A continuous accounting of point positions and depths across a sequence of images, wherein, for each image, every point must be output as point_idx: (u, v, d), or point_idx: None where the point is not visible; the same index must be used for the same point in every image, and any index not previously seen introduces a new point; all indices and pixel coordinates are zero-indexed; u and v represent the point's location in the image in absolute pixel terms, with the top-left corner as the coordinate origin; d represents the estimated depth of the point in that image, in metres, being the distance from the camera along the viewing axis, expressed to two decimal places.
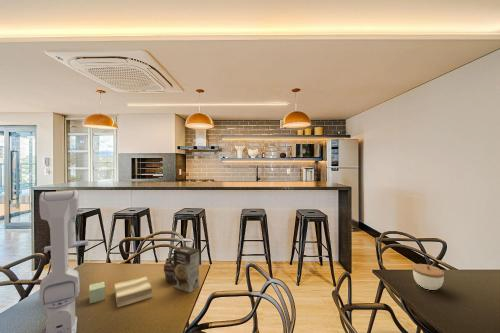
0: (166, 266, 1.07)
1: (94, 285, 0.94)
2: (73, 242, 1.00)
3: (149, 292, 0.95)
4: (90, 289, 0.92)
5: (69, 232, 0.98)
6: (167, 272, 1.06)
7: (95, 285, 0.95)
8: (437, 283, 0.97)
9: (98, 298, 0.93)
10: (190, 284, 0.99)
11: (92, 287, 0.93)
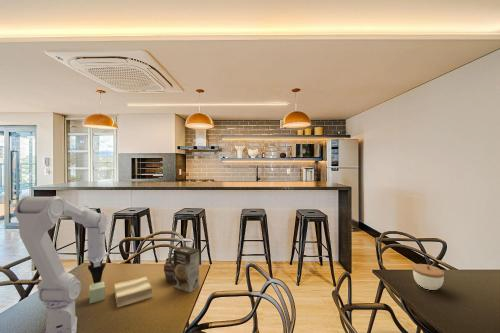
0: (166, 266, 1.07)
1: (94, 285, 0.94)
2: (91, 256, 0.91)
3: (149, 292, 0.95)
4: (90, 289, 0.92)
5: (94, 244, 0.91)
6: (167, 272, 1.06)
7: (95, 285, 0.95)
8: (437, 283, 0.97)
9: (98, 298, 0.93)
10: (190, 284, 0.99)
11: (92, 287, 0.93)
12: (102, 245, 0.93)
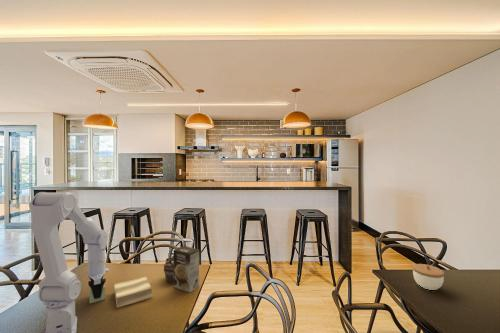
0: (166, 266, 1.07)
1: None
2: (91, 273, 0.91)
3: (149, 292, 0.95)
4: (90, 289, 0.92)
5: (94, 260, 0.91)
6: (167, 272, 1.06)
7: None
8: (437, 283, 0.97)
9: (98, 298, 0.93)
10: (190, 284, 0.99)
11: None
12: (102, 261, 0.94)
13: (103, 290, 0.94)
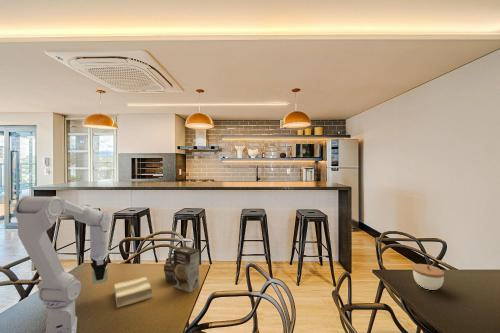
0: (166, 266, 1.07)
1: None
2: (94, 254, 0.91)
3: (149, 292, 0.95)
4: (92, 270, 0.92)
5: (96, 242, 0.91)
6: (167, 272, 1.06)
7: None
8: (437, 283, 0.97)
9: (101, 280, 0.93)
10: (190, 284, 0.99)
11: None
12: (105, 243, 0.94)
13: (105, 272, 0.94)
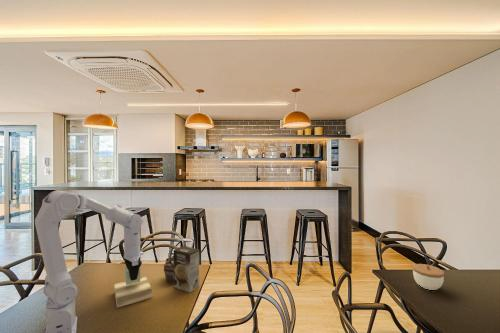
0: (166, 266, 1.07)
1: None
2: (128, 255, 0.94)
3: (149, 292, 0.95)
4: (126, 271, 0.94)
5: (127, 243, 0.94)
6: (167, 272, 1.06)
7: None
8: (437, 283, 0.97)
9: (134, 280, 0.95)
10: (190, 284, 0.99)
11: None
12: (138, 244, 0.96)
13: (138, 272, 0.96)
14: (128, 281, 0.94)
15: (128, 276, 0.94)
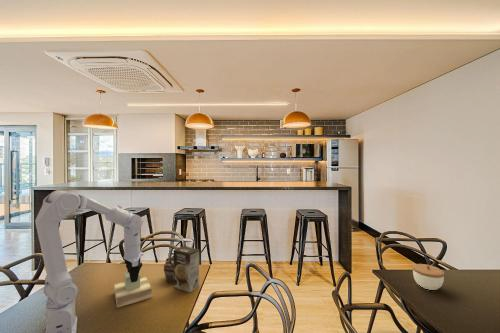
0: (166, 266, 1.07)
1: None
2: (128, 256, 0.94)
3: (149, 292, 0.95)
4: (126, 277, 0.94)
5: (127, 244, 0.94)
6: (167, 272, 1.06)
7: None
8: (437, 283, 0.97)
9: (134, 285, 0.95)
10: (190, 284, 0.99)
11: (128, 275, 0.96)
12: (138, 245, 0.96)
13: (138, 278, 0.96)
14: (128, 287, 0.94)
15: (128, 282, 0.94)
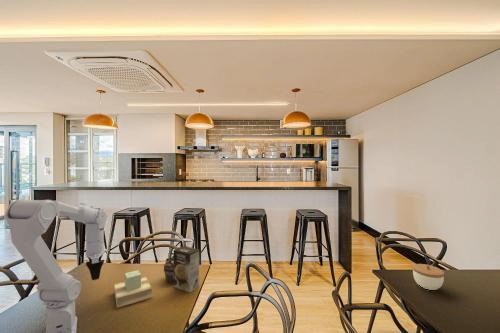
0: (166, 266, 1.07)
1: (129, 273, 0.97)
2: (89, 252, 0.90)
3: (149, 292, 0.95)
4: (127, 277, 0.94)
5: (92, 240, 0.90)
6: (167, 272, 1.06)
7: (130, 273, 0.97)
8: (437, 283, 0.97)
9: (135, 285, 0.95)
10: (190, 284, 0.99)
11: (129, 275, 0.96)
12: (101, 241, 0.92)
13: (139, 278, 0.96)
14: (129, 287, 0.94)
15: (129, 282, 0.94)
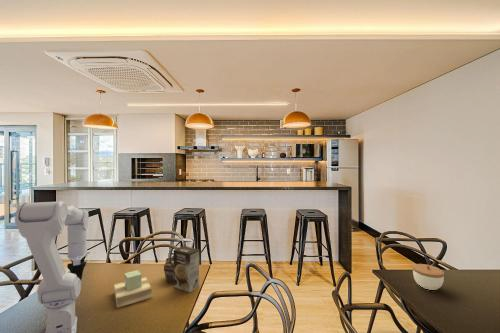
0: (166, 266, 1.07)
1: (129, 273, 0.97)
2: (71, 254, 0.88)
3: (149, 292, 0.95)
4: (128, 277, 0.94)
5: (77, 241, 0.88)
6: (167, 272, 1.06)
7: (130, 273, 0.97)
8: (437, 283, 0.97)
9: (135, 285, 0.95)
10: (190, 284, 0.99)
11: (129, 275, 0.96)
12: (83, 243, 0.90)
13: (140, 277, 0.96)
14: (129, 286, 0.94)
15: (129, 281, 0.94)
